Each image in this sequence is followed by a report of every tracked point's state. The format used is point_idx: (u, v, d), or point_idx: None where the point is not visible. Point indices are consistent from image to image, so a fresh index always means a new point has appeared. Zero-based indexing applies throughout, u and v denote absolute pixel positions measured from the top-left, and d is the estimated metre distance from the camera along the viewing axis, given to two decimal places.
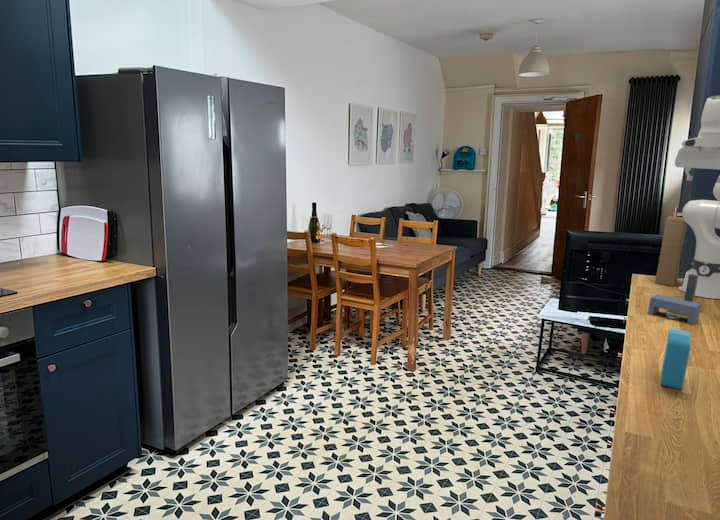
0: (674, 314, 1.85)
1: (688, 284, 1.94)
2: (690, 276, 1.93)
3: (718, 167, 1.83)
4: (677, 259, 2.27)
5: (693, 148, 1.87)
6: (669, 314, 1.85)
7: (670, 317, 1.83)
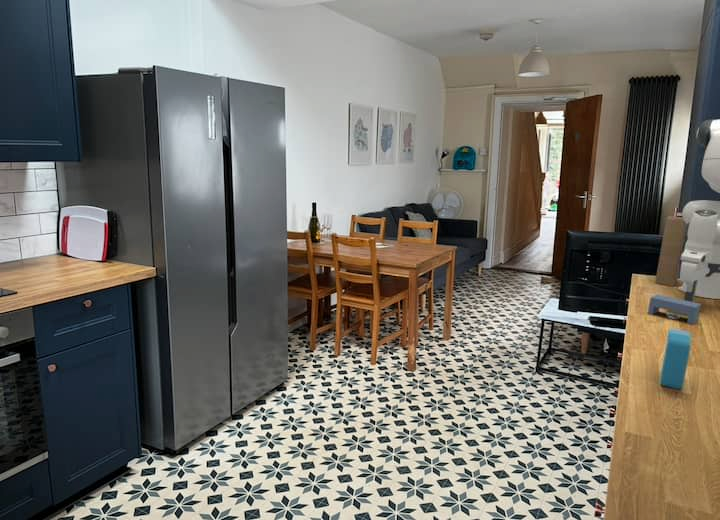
0: (674, 314, 1.85)
1: None
2: None
3: (701, 276, 1.94)
4: (677, 259, 2.27)
5: (701, 263, 1.87)
6: (669, 314, 1.85)
7: (670, 317, 1.83)
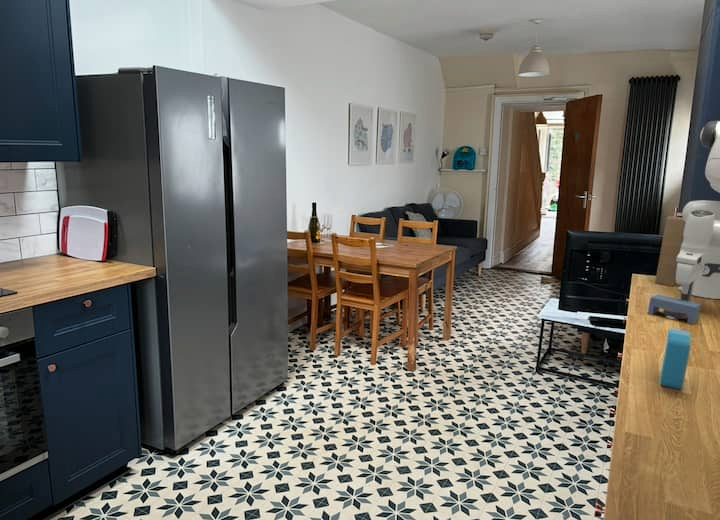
0: (673, 314, 1.84)
1: None
2: None
3: (698, 278, 1.91)
4: None
5: (697, 265, 1.83)
6: (668, 314, 1.84)
7: (669, 317, 1.82)
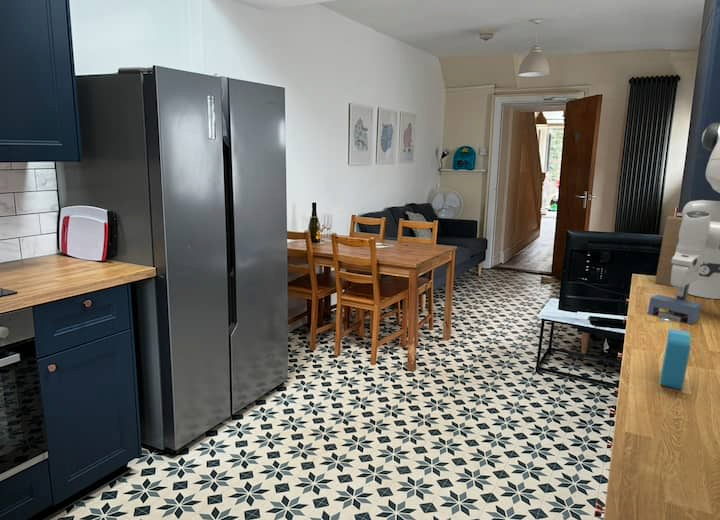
0: (668, 317, 1.81)
1: None
2: None
3: (693, 280, 1.87)
4: None
5: (693, 267, 1.80)
6: (663, 317, 1.80)
7: (664, 320, 1.78)
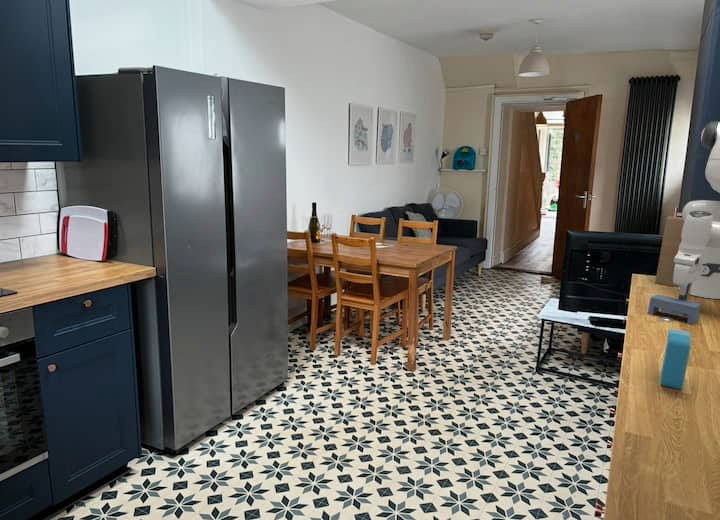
0: None
1: None
2: None
3: (695, 279, 1.90)
4: None
5: (695, 266, 1.82)
6: (663, 317, 1.80)
7: (664, 320, 1.78)
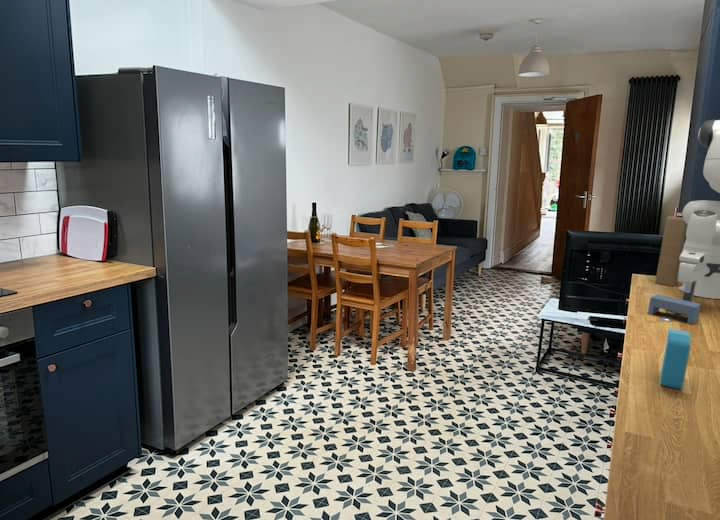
0: None
1: None
2: None
3: (700, 277, 1.93)
4: (677, 259, 2.27)
5: (700, 264, 1.86)
6: (663, 317, 1.80)
7: (664, 320, 1.78)
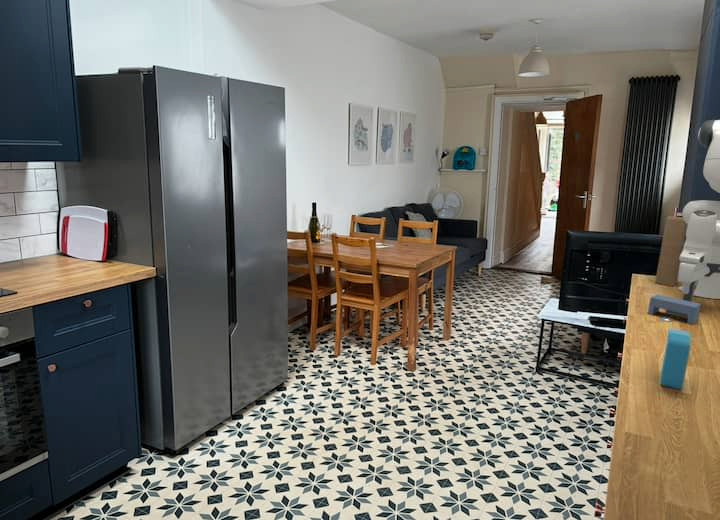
0: None
1: None
2: None
3: (700, 277, 1.93)
4: (677, 259, 2.27)
5: (700, 264, 1.86)
6: (663, 317, 1.80)
7: (664, 320, 1.78)
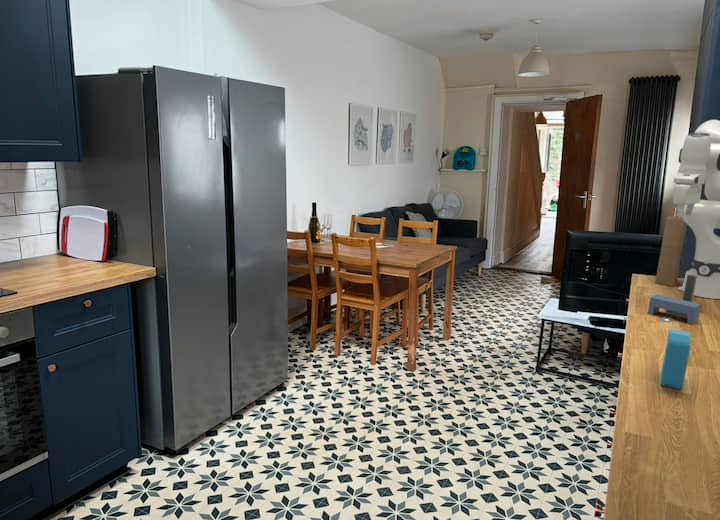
0: None
1: (686, 285, 1.92)
2: (689, 277, 1.91)
3: (695, 201, 1.93)
4: (677, 259, 2.27)
5: (694, 185, 1.85)
6: (663, 317, 1.80)
7: (664, 320, 1.78)
